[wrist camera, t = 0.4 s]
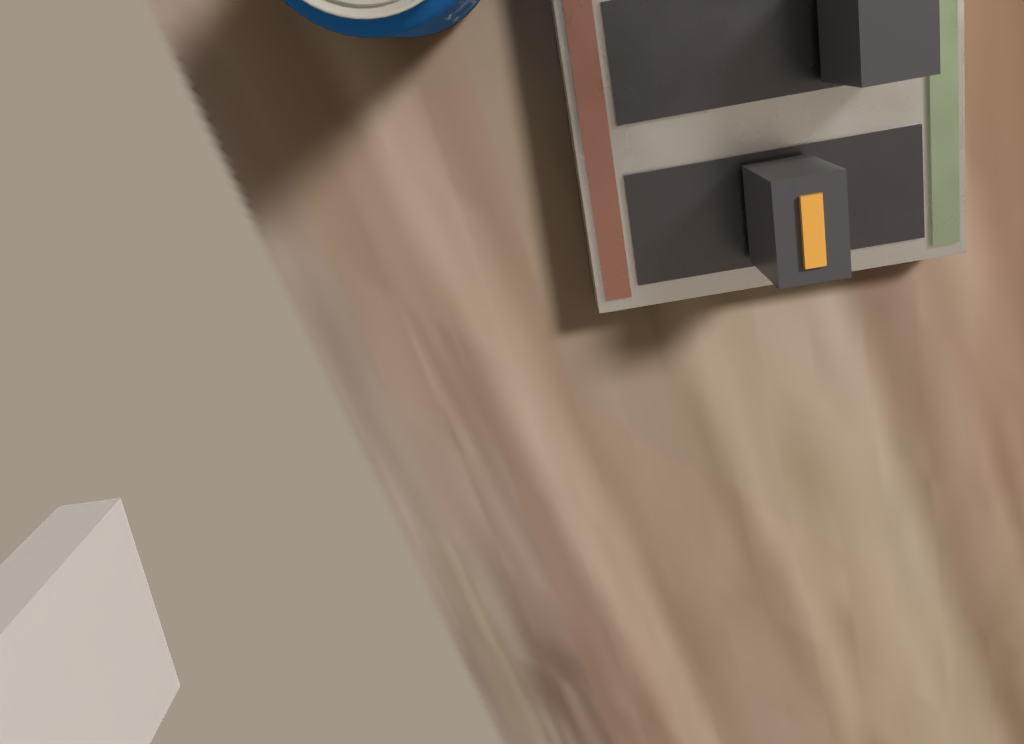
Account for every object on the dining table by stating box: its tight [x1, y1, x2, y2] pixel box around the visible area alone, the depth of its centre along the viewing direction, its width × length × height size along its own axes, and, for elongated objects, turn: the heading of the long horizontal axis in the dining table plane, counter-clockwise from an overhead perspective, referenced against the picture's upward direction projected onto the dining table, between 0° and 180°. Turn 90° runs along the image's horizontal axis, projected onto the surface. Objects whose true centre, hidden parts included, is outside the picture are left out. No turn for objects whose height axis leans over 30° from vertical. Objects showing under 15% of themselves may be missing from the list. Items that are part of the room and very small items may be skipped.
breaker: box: [817, 0, 941, 88], centre depth 30 cm, size 4×2×4 cm, turn 10°
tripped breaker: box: [742, 154, 852, 290], centre depth 32 cm, size 4×2×4 cm, turn 10°
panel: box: [551, 0, 966, 314], centre depth 33 cm, size 18×14×2 cm
